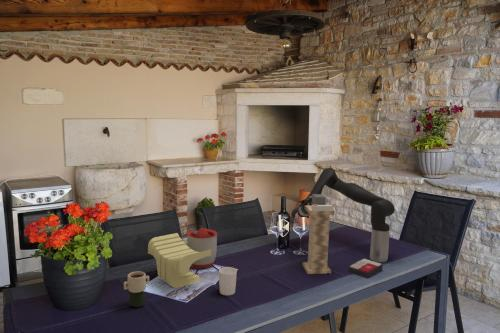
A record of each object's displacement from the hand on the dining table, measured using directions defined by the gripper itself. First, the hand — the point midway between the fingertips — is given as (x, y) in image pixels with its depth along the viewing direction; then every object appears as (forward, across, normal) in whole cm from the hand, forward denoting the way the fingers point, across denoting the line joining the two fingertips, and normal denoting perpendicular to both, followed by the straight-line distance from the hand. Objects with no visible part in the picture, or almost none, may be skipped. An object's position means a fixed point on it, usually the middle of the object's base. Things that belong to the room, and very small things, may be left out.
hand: (314, 198), depth 212 cm
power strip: (+10, 0, -9) cm, 13 cm away
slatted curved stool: (-2, +69, -39) cm, 79 cm away
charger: (0, 0, -4) cm, 4 cm away
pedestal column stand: (-10, 0, -34) cm, 36 cm away
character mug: (+18, +85, -51) cm, 100 cm away
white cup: (+10, +47, -46) cm, 67 cm away
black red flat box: (-7, -25, -37) cm, 45 cm away
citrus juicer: (-20, +58, -29) cm, 68 cm away
